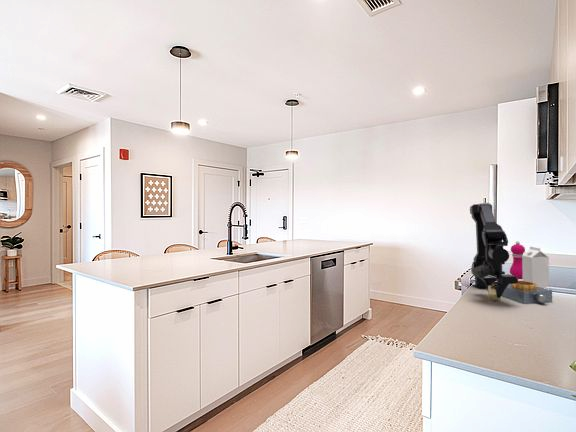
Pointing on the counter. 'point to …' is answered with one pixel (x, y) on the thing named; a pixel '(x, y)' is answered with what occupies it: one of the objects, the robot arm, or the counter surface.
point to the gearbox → (527, 293)
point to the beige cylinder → (492, 293)
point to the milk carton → (536, 267)
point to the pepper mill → (517, 260)
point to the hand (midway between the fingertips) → (494, 296)
